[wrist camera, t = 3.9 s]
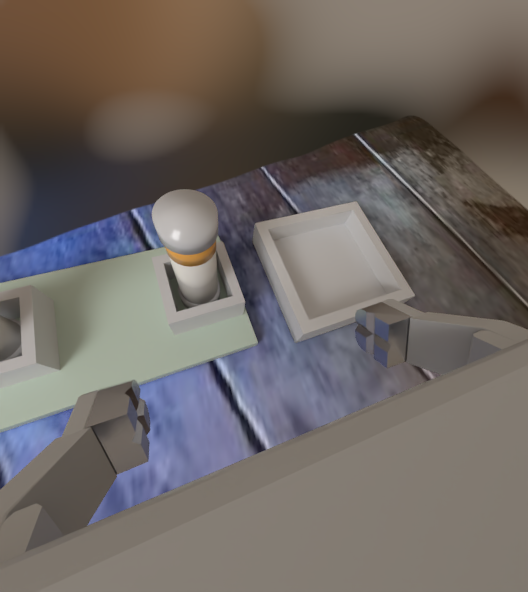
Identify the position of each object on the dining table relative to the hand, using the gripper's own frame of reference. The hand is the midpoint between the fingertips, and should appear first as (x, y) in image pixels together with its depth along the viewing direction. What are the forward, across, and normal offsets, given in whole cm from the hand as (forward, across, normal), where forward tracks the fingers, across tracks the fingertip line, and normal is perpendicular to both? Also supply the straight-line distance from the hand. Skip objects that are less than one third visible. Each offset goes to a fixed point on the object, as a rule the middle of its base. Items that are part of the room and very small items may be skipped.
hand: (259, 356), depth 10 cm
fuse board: (+17, +8, +4) cm, 19 cm away
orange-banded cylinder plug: (+16, +1, +3) cm, 17 cm away
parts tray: (+17, -12, +4) cm, 21 cm away
